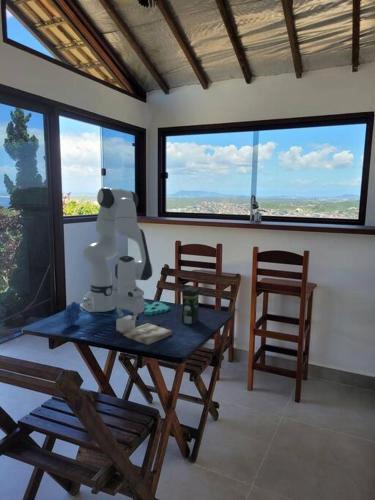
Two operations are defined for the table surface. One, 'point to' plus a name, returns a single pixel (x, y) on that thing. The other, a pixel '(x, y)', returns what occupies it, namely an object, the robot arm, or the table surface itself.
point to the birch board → (147, 333)
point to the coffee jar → (190, 305)
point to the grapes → (71, 314)
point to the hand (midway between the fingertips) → (127, 318)
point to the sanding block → (124, 323)
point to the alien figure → (154, 308)
